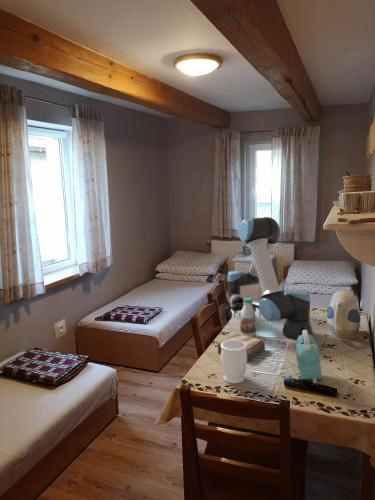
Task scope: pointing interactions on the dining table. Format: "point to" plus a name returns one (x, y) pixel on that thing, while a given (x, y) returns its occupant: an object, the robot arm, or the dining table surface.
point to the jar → (233, 360)
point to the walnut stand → (252, 343)
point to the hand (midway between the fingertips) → (247, 315)
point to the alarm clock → (308, 357)
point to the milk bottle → (248, 318)
